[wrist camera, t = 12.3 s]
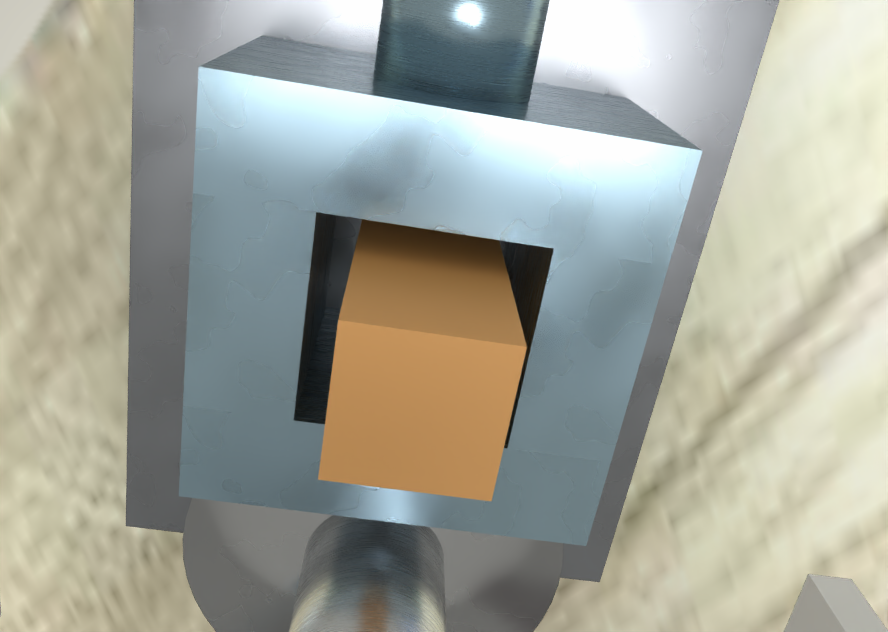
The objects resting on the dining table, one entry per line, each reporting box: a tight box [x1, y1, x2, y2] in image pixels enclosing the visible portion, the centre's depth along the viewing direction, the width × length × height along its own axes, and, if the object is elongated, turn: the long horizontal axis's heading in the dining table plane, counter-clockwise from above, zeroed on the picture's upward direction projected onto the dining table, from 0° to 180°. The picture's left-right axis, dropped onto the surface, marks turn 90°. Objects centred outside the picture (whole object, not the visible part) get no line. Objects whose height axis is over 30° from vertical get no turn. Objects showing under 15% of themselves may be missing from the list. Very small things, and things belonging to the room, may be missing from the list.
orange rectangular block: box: [318, 219, 527, 501], centre depth 23 cm, size 4×4×12 cm
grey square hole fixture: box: [126, 0, 779, 632], centre depth 24 cm, size 26×20×16 cm
